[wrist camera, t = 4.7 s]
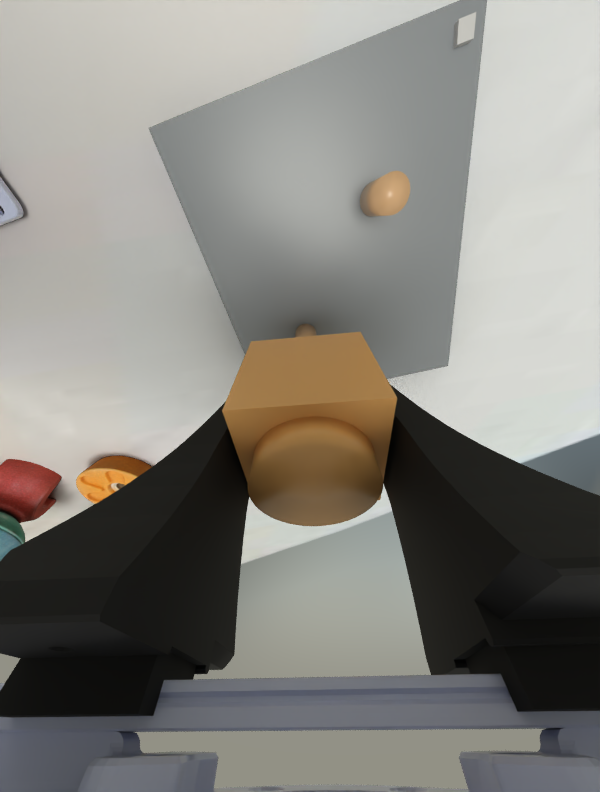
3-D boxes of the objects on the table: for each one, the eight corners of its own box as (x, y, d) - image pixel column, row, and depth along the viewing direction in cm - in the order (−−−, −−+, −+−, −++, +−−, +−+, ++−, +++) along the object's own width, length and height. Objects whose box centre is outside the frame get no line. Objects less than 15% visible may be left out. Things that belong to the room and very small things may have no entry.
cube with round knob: (268, 422, 12) (251, 535, 8) (250, 341, 10) (210, 438, 5) (356, 416, 12) (388, 529, 8) (360, 331, 10) (412, 425, 5)
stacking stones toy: (188, 470, 27) (119, 624, 16) (156, 536, 35) (99, 664, 25) (-20, 406, 21) (-307, 575, 11) (3, 502, 30) (-147, 647, 20)
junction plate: (267, 397, 21) (262, 430, 17) (158, 134, 12) (105, 101, 8) (441, 359, 19) (471, 388, 16) (472, 7, 10) (560, -100, 6)
